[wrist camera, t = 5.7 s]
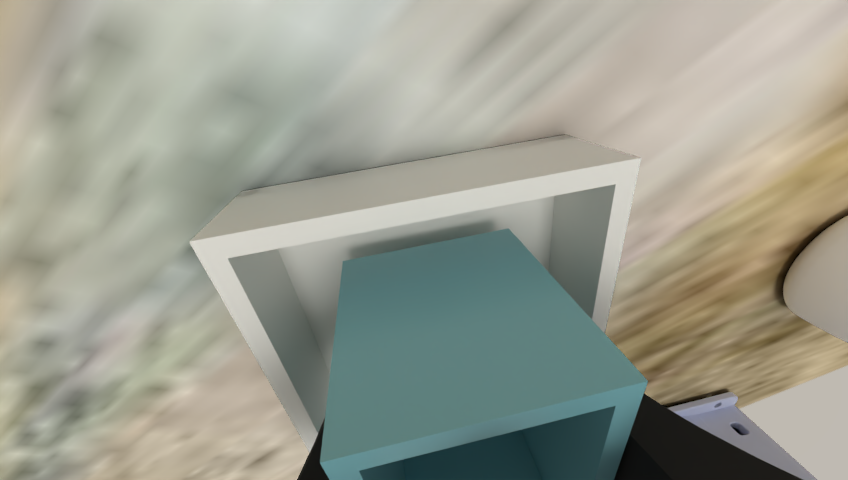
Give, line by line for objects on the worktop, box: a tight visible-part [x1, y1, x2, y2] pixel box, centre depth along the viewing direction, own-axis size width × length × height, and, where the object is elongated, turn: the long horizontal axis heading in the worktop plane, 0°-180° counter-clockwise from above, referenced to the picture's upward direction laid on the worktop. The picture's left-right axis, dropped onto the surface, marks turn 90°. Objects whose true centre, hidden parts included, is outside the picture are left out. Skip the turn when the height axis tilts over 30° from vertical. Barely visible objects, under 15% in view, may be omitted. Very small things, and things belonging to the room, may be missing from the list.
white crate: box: [189, 135, 641, 453], centre depth 12 cm, size 11×12×4 cm
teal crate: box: [320, 228, 648, 480], centre depth 10 cm, size 6×8×6 cm
